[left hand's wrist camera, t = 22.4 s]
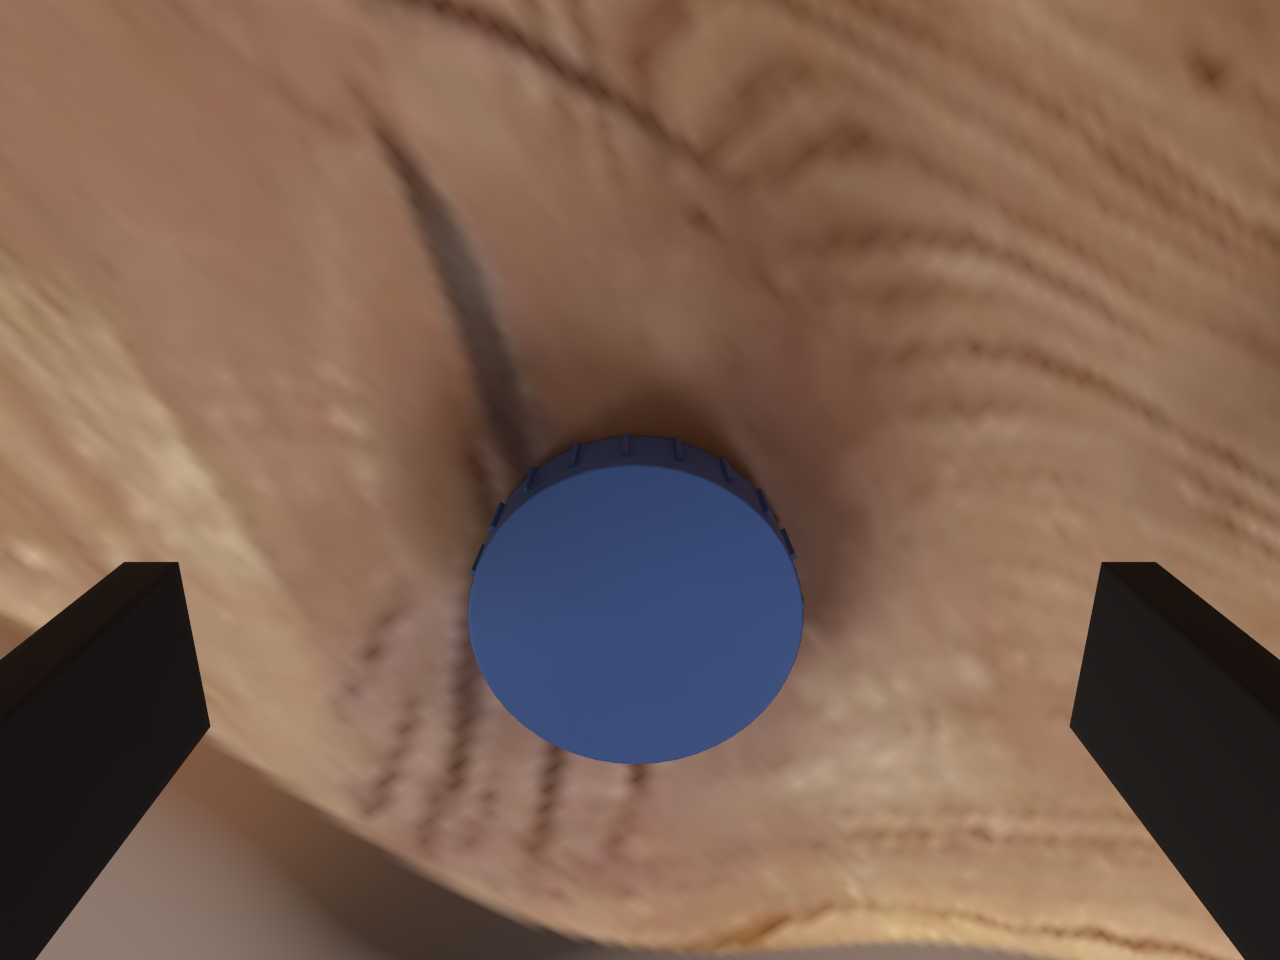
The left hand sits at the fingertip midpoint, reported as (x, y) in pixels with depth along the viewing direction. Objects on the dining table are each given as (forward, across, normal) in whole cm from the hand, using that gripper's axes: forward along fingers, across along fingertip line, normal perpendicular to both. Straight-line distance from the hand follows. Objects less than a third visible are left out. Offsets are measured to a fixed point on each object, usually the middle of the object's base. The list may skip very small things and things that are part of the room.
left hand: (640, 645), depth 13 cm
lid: (+2, 0, -1) cm, 2 cm away
